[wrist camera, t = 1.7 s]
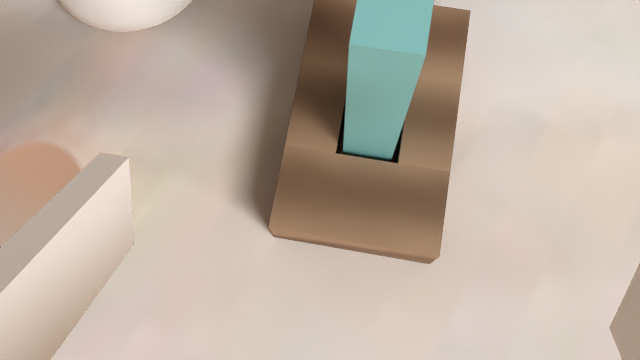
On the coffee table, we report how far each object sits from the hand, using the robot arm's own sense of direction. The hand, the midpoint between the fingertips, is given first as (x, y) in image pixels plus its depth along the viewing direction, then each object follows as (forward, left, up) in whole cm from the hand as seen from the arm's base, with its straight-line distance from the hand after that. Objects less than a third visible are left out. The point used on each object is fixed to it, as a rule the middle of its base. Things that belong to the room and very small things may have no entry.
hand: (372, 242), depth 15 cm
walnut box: (-10, +5, -22) cm, 25 cm away
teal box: (-10, +5, -22) cm, 24 cm away
